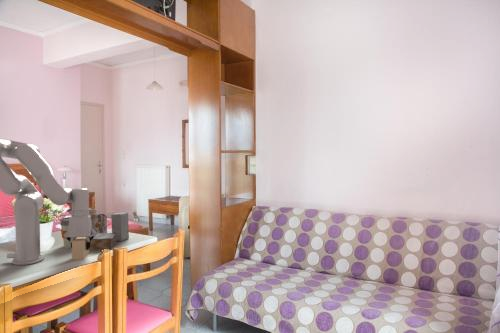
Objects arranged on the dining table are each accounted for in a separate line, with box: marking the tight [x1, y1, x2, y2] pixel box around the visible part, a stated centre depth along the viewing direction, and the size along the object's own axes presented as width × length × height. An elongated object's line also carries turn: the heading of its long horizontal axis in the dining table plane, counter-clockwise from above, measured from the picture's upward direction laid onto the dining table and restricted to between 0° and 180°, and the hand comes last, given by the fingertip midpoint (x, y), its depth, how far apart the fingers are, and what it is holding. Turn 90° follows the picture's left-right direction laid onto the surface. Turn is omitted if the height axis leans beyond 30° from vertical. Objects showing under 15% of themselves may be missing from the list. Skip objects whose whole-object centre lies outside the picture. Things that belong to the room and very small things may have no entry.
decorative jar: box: [89, 208, 108, 234], centre depth 198 cm, size 12×12×18 cm
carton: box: [71, 237, 90, 261], centre depth 164 cm, size 10×5×9 cm, turn 12°
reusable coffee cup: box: [60, 216, 77, 249], centre depth 185 cm, size 13×13×15 cm
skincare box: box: [110, 212, 130, 242], centre depth 198 cm, size 8×7×16 cm
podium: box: [89, 232, 117, 251], centre depth 182 cm, size 15×13×6 cm
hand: (80, 249), depth 164 cm, fingers open, 5 cm apart
